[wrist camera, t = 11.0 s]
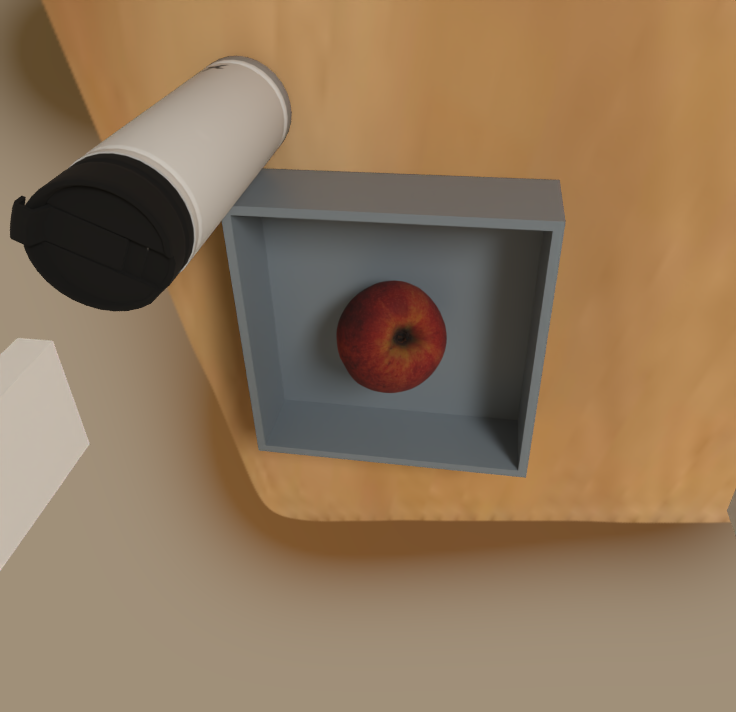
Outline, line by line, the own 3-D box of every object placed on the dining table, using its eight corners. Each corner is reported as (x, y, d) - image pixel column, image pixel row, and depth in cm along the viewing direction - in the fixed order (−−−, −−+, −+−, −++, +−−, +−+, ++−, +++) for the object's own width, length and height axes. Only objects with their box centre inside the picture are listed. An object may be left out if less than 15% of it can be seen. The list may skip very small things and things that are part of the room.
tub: (249, 167, 46) (219, 205, 41) (559, 179, 43) (565, 221, 38) (279, 400, 58) (258, 450, 53) (524, 422, 55) (525, 477, 50)
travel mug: (205, 33, 41) (14, 149, 25) (306, 84, 42) (182, 228, 26) (180, 127, 45) (-1, 279, 29) (273, 172, 46) (147, 345, 30)
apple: (474, 316, 49) (468, 386, 43) (392, 367, 53) (375, 438, 47) (406, 241, 47) (390, 303, 40) (325, 300, 50) (299, 365, 44)
